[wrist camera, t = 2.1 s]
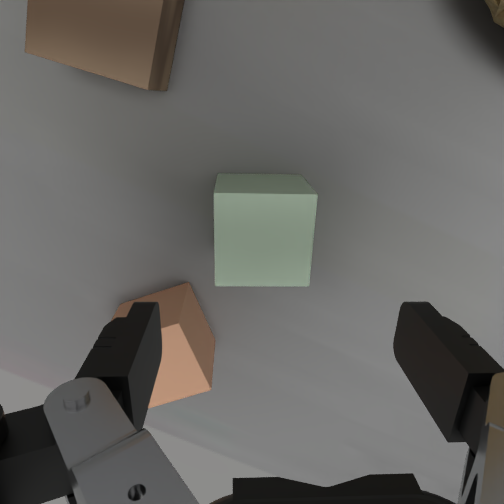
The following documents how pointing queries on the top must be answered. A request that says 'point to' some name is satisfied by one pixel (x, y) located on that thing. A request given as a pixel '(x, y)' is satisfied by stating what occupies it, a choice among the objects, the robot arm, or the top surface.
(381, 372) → the top surface
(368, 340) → the top surface
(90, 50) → the walnut block
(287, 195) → the sage block
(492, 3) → the sponge
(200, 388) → the terracotta block
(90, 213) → the top surface
